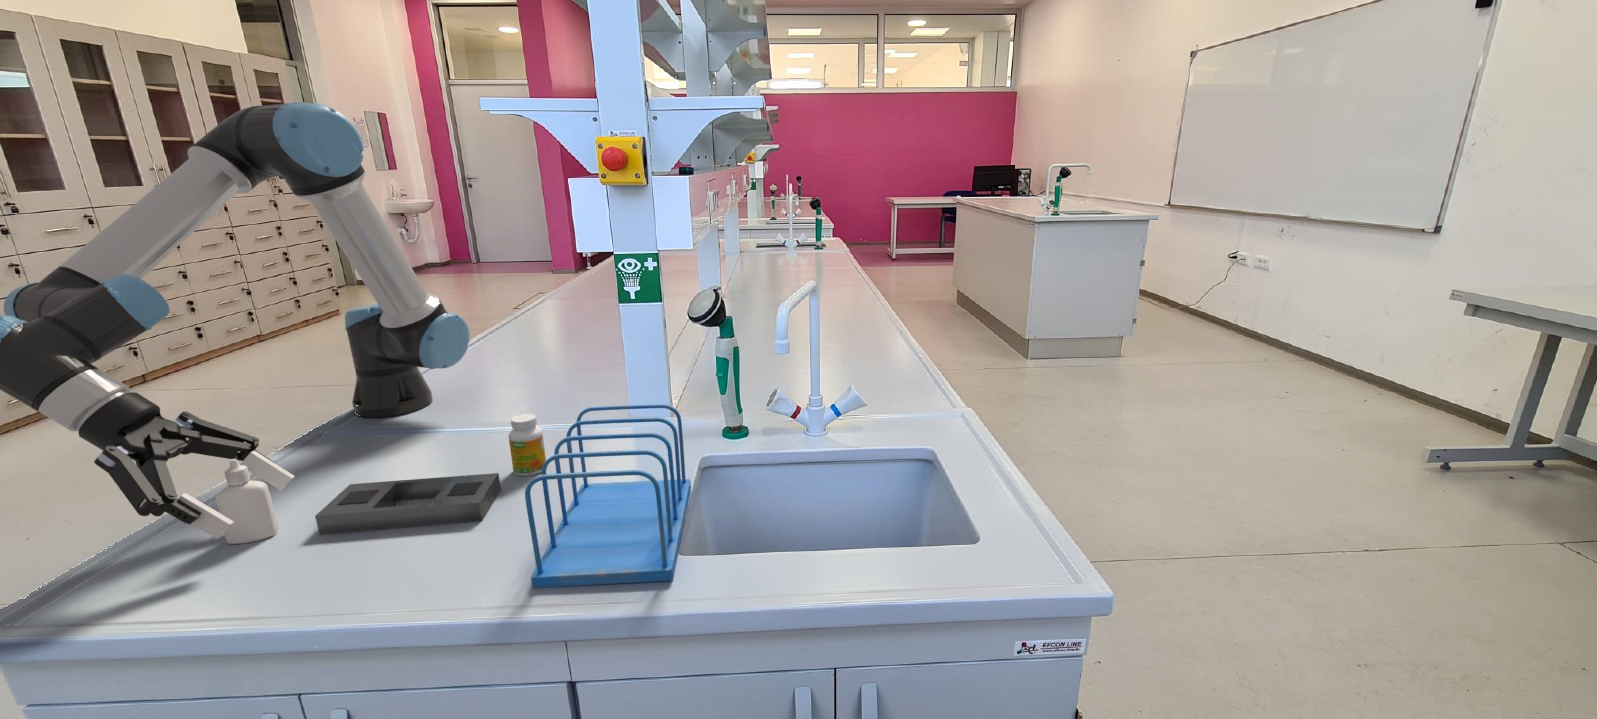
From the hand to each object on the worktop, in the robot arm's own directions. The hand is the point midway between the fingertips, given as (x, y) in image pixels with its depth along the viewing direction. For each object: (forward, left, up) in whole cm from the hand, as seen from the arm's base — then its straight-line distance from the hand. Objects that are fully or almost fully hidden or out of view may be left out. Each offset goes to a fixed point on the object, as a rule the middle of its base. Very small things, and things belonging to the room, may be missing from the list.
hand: (259, 505), depth 91 cm
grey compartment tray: (-4, +18, -5) cm, 19 cm away
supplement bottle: (-16, +32, -5) cm, 36 cm away
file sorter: (+8, +50, -5) cm, 51 cm away
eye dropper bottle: (0, -2, -5) cm, 5 cm away
